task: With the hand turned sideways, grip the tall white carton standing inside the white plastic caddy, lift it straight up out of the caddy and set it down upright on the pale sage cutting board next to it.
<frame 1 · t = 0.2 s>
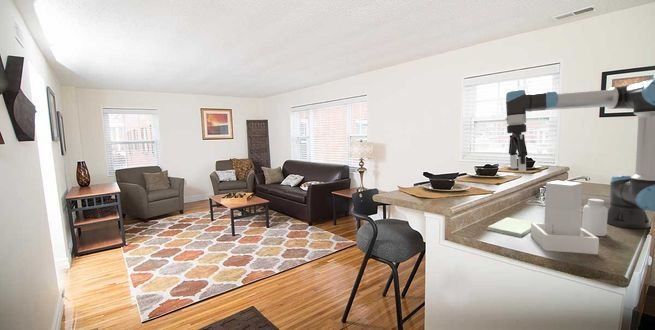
hand: (517, 169, 138), 27 cm above the countertop, tool pointing down, fingers open, 13 cm apart
cutting board: (513, 227, 140), on the countertop
pill bottle: (593, 234, 129), on the countertop
caddy: (561, 244, 118), on the countertop
tall white carton: (561, 244, 118), resting in caddy
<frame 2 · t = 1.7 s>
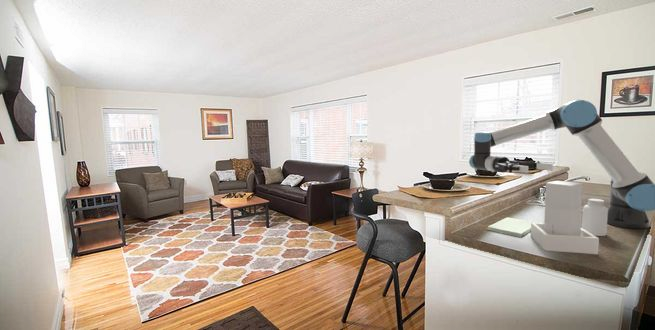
hand: (540, 168, 124), 30 cm above the countertop, tool horizontal, fingers open, 13 cm apart
nothing on the countertop moved.
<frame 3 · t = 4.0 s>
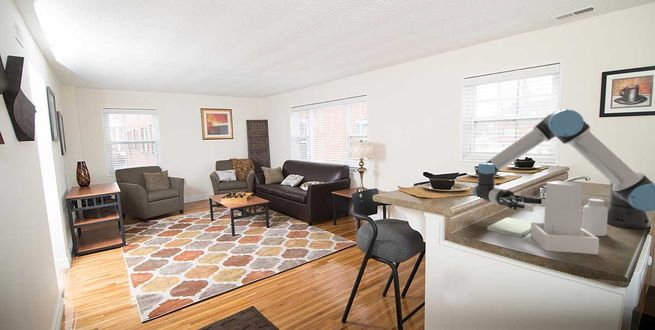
hand: (545, 206, 123), 14 cm above the countertop, tool horizontal, fingers open, 13 cm apart
nothing on the countertop moved.
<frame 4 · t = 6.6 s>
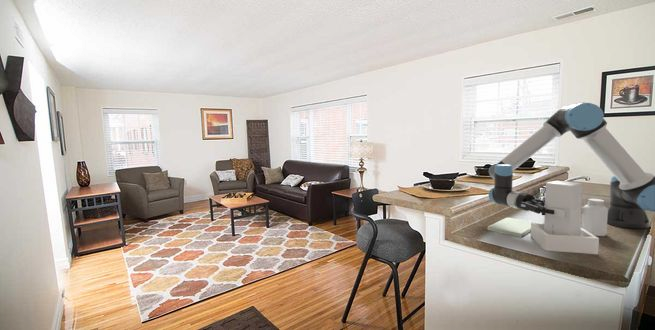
hand: (574, 212, 113), 14 cm above the countertop, tool horizontal, fingers closed on tall white carton, 10 cm apart
tall white carton: (561, 244, 118), resting in caddy, touching gripper
everything else where it was.
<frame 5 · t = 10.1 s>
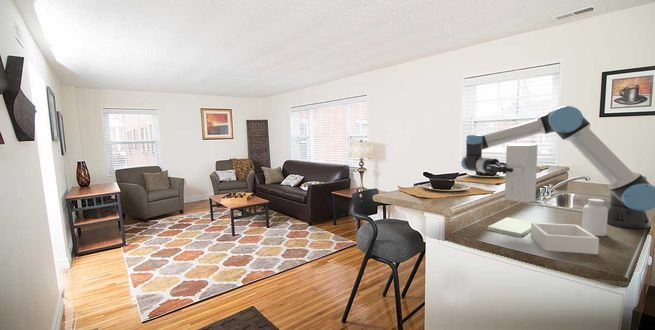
hand: (530, 170, 129), 28 cm above the countertop, tool horizontal, fingers closed on tall white carton, 10 cm apart
tall white carton: (519, 200, 135), point 14 cm above the countertop, touching gripper
everything else where it was.
when the fingers open (17 cm above the countertop, at t = 13.5 s): tall white carton drops 1 cm, resting on cutting board.
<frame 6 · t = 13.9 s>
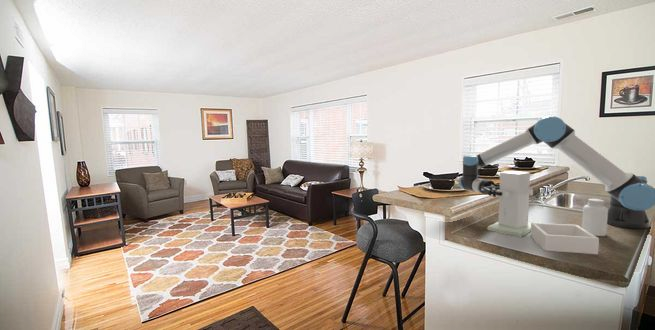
hand: (520, 193, 135), 17 cm above the countertop, tool horizontal, fingers open, 13 cm apart
tall white carton: (512, 225, 140), point 1 cm above the countertop, touching cutting board
everything else where it was.
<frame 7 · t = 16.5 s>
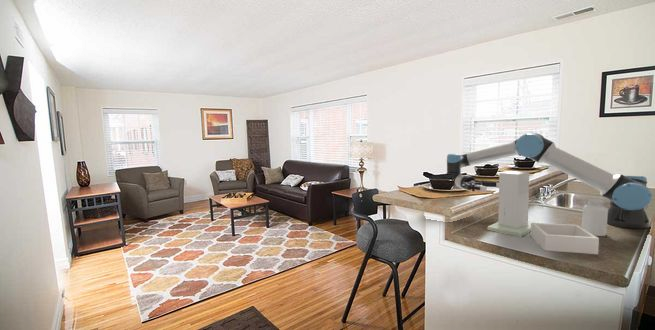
hand: (496, 188, 147), 17 cm above the countertop, tool horizontal, fingers open, 13 cm apart
nothing on the countertop moved.
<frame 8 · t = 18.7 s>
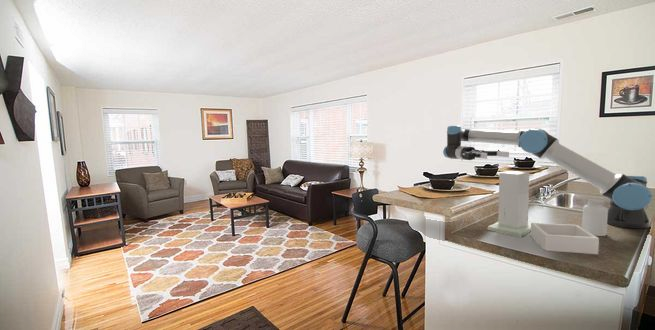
hand: (497, 155, 146), 34 cm above the countertop, tool horizontal, fingers open, 13 cm apart
nothing on the countertop moved.
at the end: tall white carton inside the target area on the cutting board (0.3 cm from its centre), point 1.3 cm above the cutting board's base; tall white carton tilted 0°; the gripper is holding nothing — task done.
